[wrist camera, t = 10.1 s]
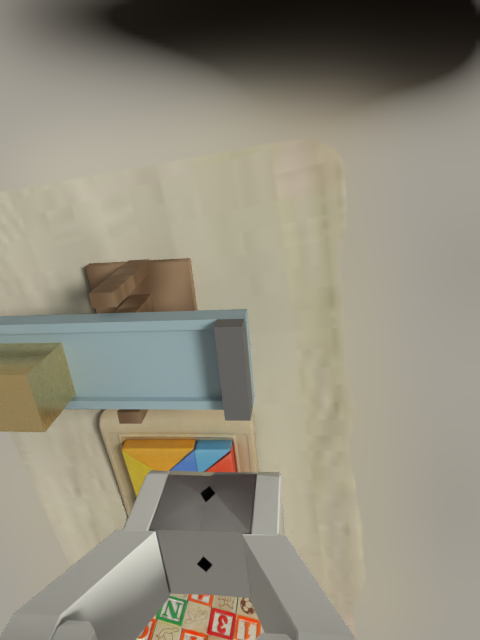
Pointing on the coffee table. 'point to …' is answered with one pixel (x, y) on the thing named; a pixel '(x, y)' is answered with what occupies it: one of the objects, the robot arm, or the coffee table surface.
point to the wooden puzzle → (175, 445)
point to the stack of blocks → (204, 619)
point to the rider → (33, 385)
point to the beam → (150, 358)
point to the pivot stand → (141, 295)
